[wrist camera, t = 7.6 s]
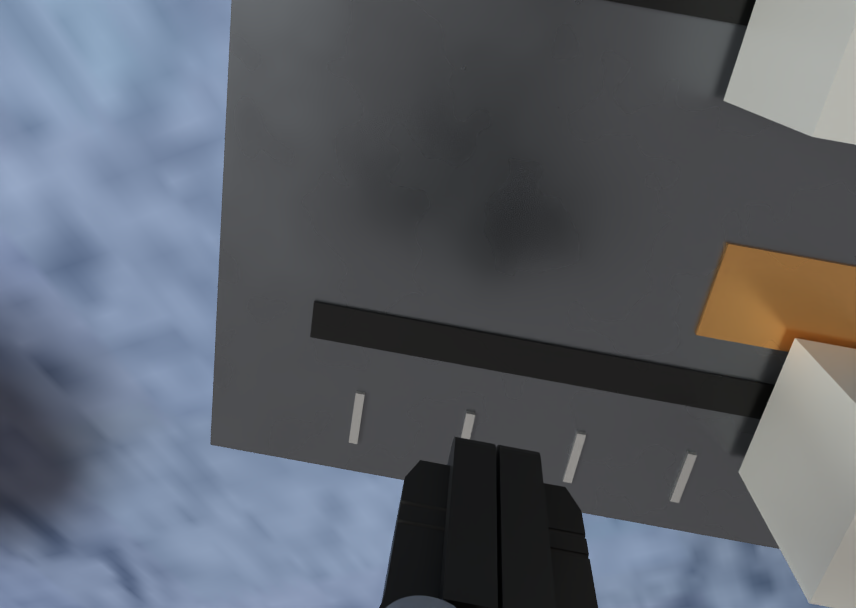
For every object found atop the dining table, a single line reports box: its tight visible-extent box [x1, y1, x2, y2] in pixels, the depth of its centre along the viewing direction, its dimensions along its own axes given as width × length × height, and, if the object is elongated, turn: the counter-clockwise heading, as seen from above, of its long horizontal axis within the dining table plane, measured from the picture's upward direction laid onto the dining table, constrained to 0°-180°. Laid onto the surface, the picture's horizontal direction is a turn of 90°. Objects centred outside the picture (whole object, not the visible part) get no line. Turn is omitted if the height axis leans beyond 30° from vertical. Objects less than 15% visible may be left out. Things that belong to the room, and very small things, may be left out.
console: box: [211, 0, 856, 549], centre depth 17 cm, size 18×20×2 cm
